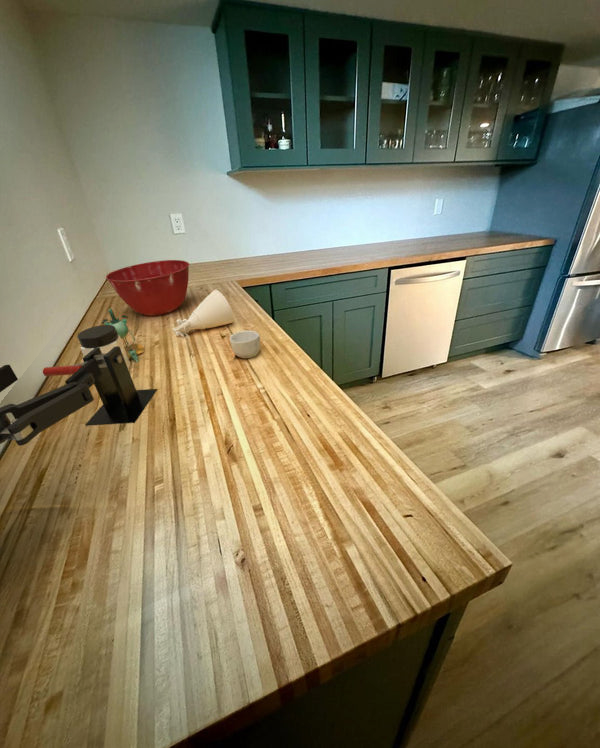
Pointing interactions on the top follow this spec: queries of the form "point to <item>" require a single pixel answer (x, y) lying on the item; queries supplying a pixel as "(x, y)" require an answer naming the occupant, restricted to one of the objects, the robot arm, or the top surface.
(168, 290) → the mixing bowl
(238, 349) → the teacup
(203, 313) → the rocket engine
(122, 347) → the jar
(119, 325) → the frog figurine
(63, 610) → the top surface
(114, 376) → the bracket
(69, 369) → the lever
